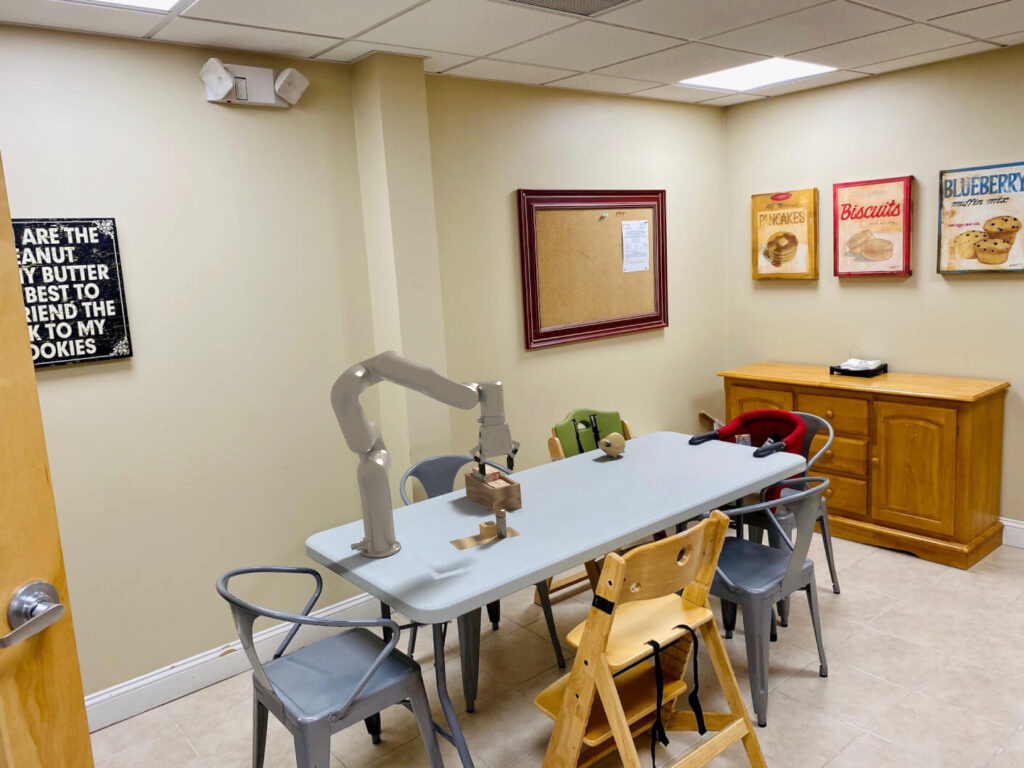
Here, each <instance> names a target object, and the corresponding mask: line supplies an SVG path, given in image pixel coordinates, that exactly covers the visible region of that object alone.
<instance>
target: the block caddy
mask: <svg viewBox="0 0 1024 768" xmlns="http://www.w3.org/2000/svg"><path fill="white" fill-rule="evenodd" d="M500 479H501V480H503V481H505V482H507V483H508V484H510V485H508V486H504V487H499V488H495V489H494V488H492V487H490V486H489V485H487V484H485V483H483V482H482V481H480V480H478V479H476V478H475V477H473V472H472V471H471V472H469V471H468V472H465V473H464V482H465V494H466V497H468V498H469V499H470V500H471V501H474V502H476V503H477V504H478V505H479V506H481V507H483V508H484V509H486V510H488V511H489V512H490V513H492V512H495V510H496V509H500V508H503V509H505V510H506V512H509V511H513V510H518V509H521V508H522V507H523V506H522V494H521V493H522V492H521V484H520V482H517V481H515V480H514V479H512V478H509V477H508V476H506V475H504V474H502V473H500Z"/></svg>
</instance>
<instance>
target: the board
mask: <svg viewBox="0 0 1024 768" xmlns="http://www.w3.org/2000/svg"><path fill="white" fill-rule="evenodd" d="M506 527H507V537H506V538H508V539H510V538H511V539H512V538H515V537H518V536H522V533H520V532H519V531H517V530H516V529H514V528H513V527H512V526H506ZM502 540H503V538H502V539H501V538H498V537H497V535H493V536H489V537H483V536H482V535H481V534H480V533H479V534H474V535H470V536H467V537H466V536H465V537H463V538H458V539H455V540H454V539H453V540H450V541H449V543H450V544H452V545H453V546H454V547H455V548H456V549H457V550H459V551H462V550H467V549H470V548H474V547H479V546H482V545H486V544H491V543H495V542H499V541H502Z"/></svg>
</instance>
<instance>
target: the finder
mask: <svg viewBox="0 0 1024 768" xmlns="http://www.w3.org/2000/svg"><path fill="white" fill-rule="evenodd" d="M478 527H479V534H481V535H482V536H483V537H489V536H493V535H496V536H497V526H496V521H495V520H489V521H485V522H481V523H480V522H479V525H478Z"/></svg>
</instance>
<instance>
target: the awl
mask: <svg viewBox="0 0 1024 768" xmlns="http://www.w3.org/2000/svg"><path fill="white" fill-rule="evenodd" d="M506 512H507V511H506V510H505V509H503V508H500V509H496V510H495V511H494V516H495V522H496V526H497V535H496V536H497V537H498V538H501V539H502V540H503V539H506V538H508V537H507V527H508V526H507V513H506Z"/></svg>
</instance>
